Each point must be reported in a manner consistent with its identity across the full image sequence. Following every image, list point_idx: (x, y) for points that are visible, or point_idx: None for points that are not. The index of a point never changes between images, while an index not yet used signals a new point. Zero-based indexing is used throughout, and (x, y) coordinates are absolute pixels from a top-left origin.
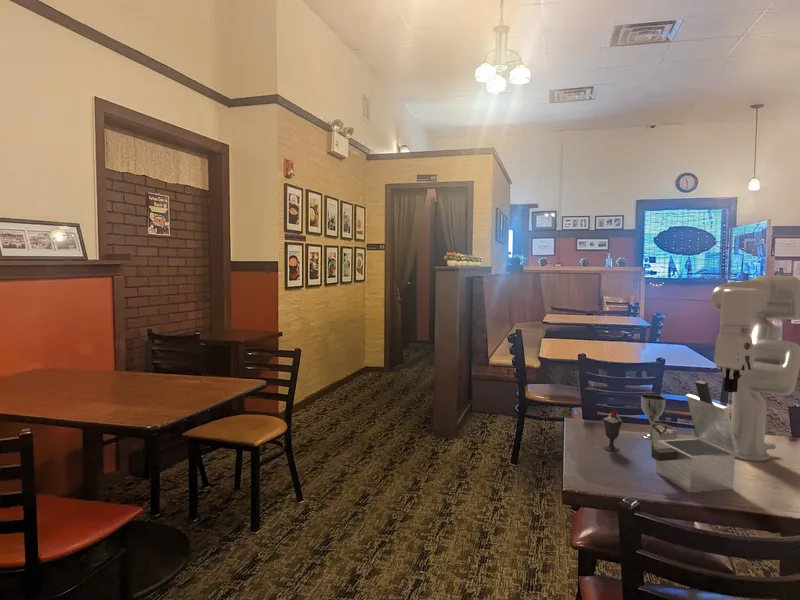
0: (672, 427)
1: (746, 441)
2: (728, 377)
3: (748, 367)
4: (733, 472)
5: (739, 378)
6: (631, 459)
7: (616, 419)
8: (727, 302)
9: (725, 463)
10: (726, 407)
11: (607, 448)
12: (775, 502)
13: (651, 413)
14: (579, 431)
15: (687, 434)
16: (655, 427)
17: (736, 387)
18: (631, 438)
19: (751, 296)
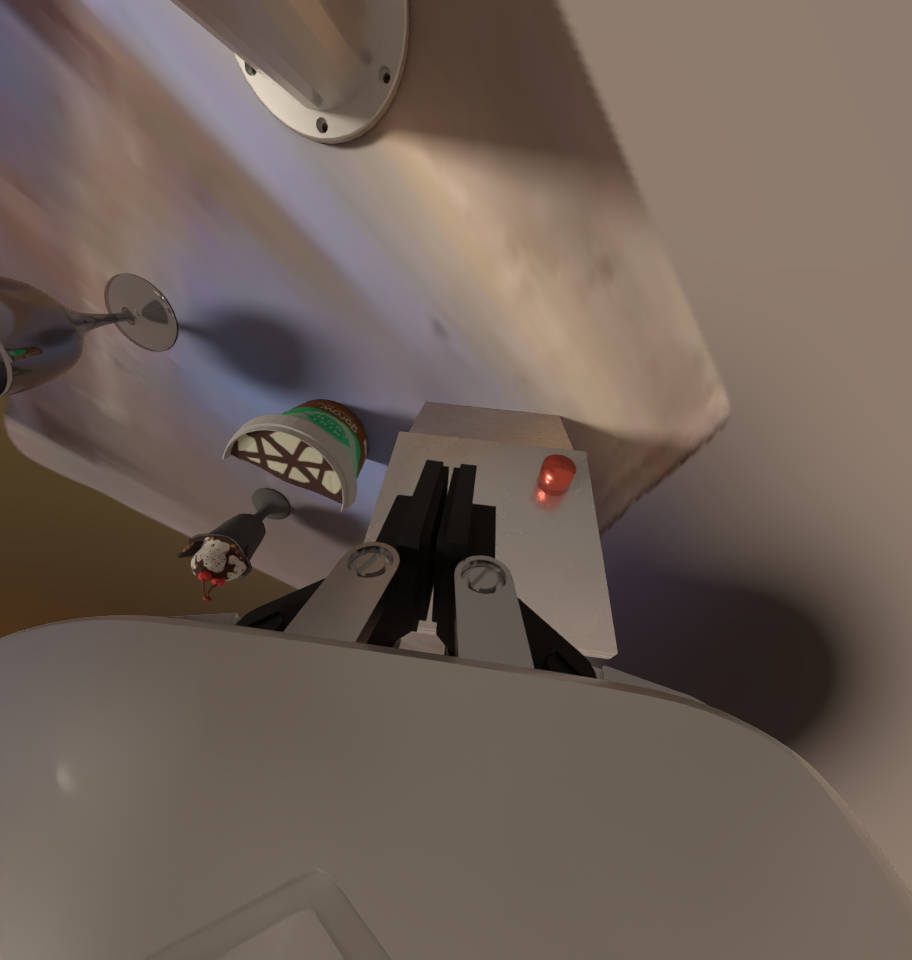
0: (279, 431)
1: (336, 51)
2: (415, 616)
3: (660, 731)
4: (566, 435)
5: (507, 574)
6: (340, 505)
7: (235, 568)
8: None
9: None
10: (615, 654)
11: (273, 516)
12: (665, 377)
13: (77, 360)
14: (139, 494)
15: (60, 96)
16: (261, 466)
17: (494, 519)
18: (172, 395)
19: None
